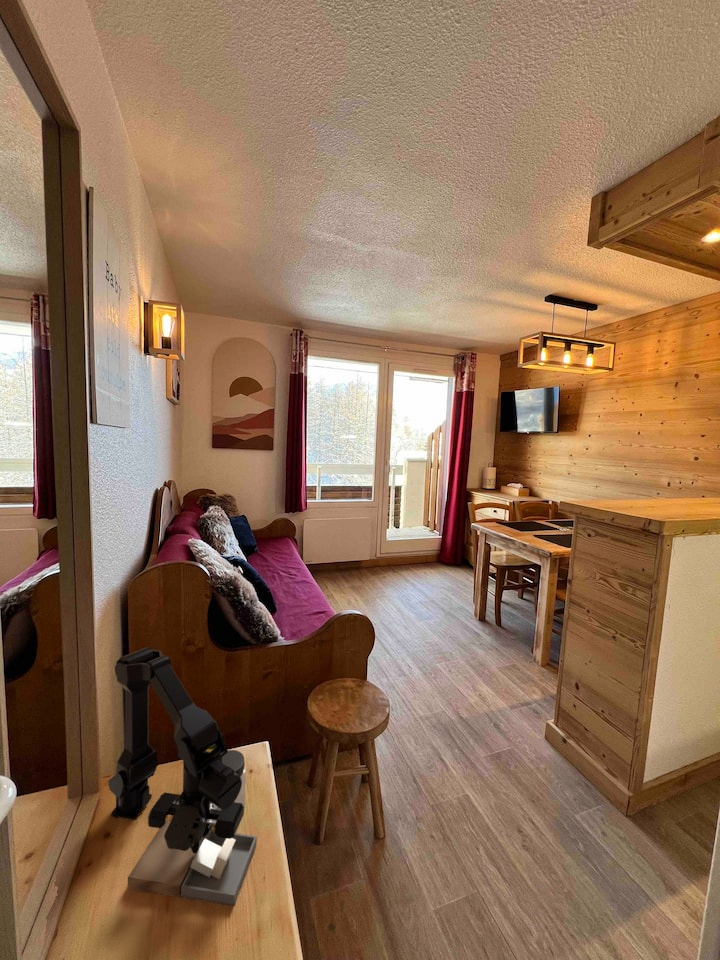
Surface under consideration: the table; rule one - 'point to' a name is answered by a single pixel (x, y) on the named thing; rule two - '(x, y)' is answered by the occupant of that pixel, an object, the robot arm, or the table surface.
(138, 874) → the brown board
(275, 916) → the table surface
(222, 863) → the tile
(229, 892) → the tray
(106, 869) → the table surface
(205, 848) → the tile
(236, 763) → the jar
